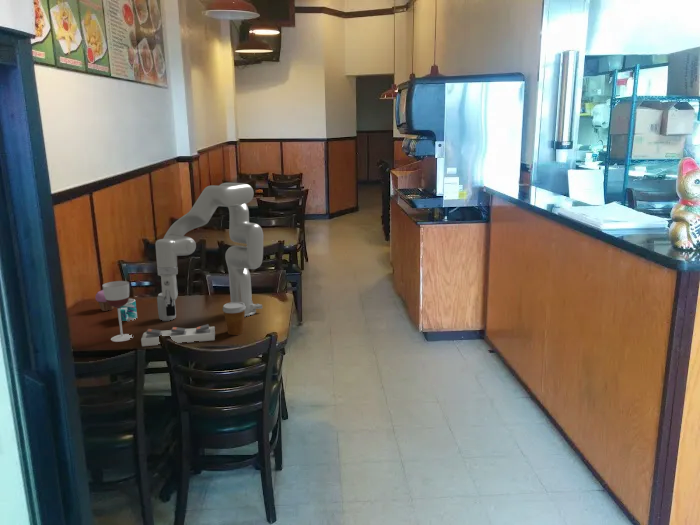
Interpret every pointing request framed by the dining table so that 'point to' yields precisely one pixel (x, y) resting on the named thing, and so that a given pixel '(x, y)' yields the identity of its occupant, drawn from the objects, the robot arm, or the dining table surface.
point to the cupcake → (103, 301)
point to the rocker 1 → (153, 332)
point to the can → (163, 309)
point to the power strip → (180, 336)
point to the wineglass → (117, 302)
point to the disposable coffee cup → (234, 317)
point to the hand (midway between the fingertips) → (171, 315)
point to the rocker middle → (178, 330)
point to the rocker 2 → (202, 328)
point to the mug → (128, 311)
